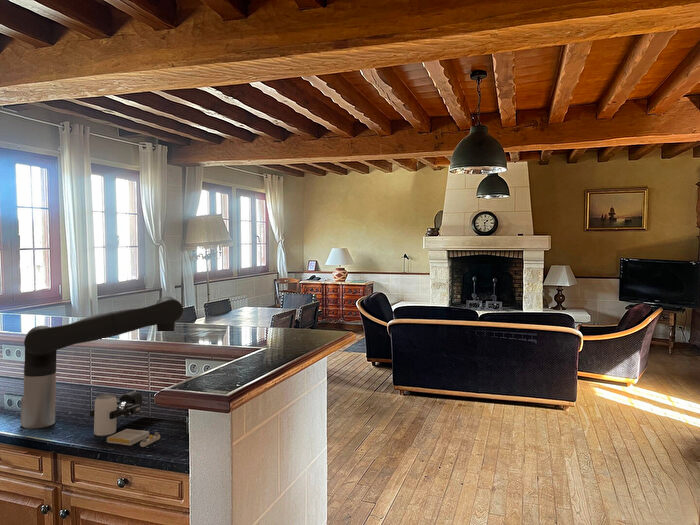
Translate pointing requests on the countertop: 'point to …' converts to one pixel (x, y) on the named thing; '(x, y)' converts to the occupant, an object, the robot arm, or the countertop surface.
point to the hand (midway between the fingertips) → (100, 414)
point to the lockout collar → (128, 437)
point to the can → (104, 415)
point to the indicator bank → (150, 439)
